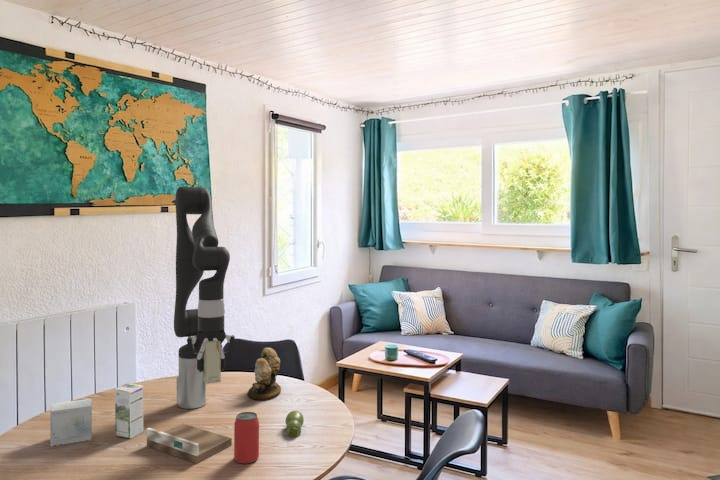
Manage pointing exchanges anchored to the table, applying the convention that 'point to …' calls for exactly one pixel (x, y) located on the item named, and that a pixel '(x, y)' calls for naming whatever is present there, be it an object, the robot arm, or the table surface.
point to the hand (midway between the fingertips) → (211, 370)
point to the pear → (294, 423)
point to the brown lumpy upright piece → (266, 376)
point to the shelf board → (187, 442)
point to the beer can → (246, 437)
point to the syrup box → (129, 410)
